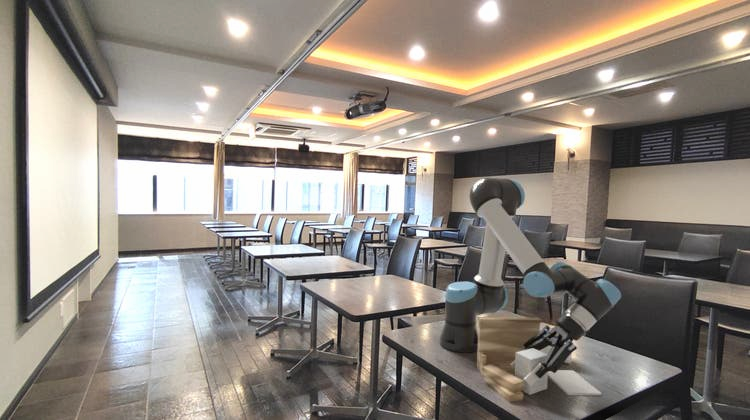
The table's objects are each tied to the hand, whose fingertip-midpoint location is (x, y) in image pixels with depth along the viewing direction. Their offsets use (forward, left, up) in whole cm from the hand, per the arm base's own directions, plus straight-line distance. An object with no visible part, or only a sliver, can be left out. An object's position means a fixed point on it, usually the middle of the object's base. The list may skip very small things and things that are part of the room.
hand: (520, 374), depth 108 cm
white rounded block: (-21, +22, -4) cm, 31 cm away
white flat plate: (-3, +17, -4) cm, 18 cm away
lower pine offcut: (0, -6, -5) cm, 7 cm away
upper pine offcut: (0, -5, -2) cm, 6 cm away
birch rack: (-11, +1, -4) cm, 11 cm away
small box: (0, +3, -4) cm, 5 cm away
